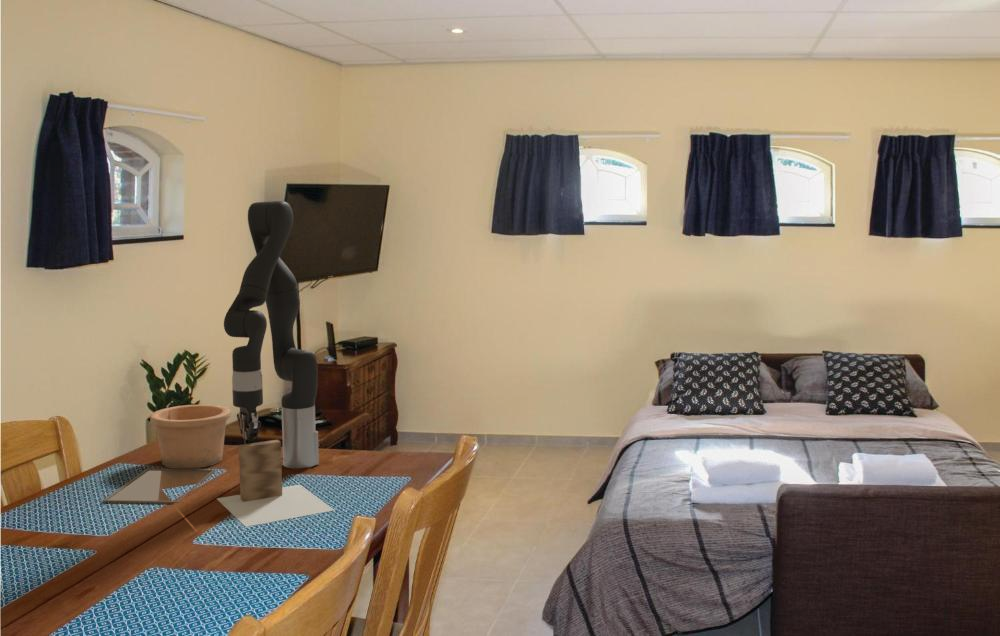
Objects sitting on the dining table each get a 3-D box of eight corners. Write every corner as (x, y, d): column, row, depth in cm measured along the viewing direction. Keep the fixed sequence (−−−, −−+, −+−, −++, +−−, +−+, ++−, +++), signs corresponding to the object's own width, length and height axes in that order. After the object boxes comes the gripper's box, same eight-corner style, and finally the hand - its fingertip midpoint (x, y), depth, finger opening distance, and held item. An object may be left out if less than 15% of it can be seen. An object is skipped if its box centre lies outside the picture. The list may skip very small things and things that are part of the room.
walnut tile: (279, 492, 244) (277, 439, 242) (282, 495, 242) (280, 441, 240) (240, 499, 239) (238, 445, 237) (243, 501, 237) (241, 447, 235)
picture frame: (178, 505, 237) (215, 473, 264) (178, 501, 236) (215, 469, 264) (102, 504, 237) (147, 472, 265) (102, 500, 237) (147, 468, 265)
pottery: (135, 467, 268) (133, 417, 266) (186, 448, 288) (184, 401, 286) (199, 475, 260) (197, 424, 258) (246, 455, 281) (245, 407, 279)
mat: (299, 486, 251) (299, 484, 251) (335, 511, 231) (334, 510, 231) (216, 500, 239) (216, 498, 239) (245, 528, 219) (245, 526, 219)
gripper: (270, 390, 241) (272, 456, 243) (253, 381, 252) (255, 445, 254) (240, 393, 237) (243, 460, 239) (225, 384, 248) (227, 448, 250)
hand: (249, 452), depth 246 cm, fingers closed
